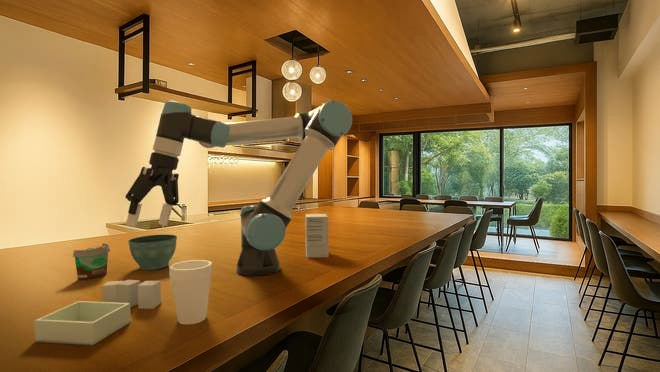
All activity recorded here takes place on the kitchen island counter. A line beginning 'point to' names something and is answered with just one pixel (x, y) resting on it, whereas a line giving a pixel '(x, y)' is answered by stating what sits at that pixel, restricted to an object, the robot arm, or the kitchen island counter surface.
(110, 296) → the stone
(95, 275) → the food container
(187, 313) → the foam cup
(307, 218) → the supplement box
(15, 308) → the kitchen island counter surface
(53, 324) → the bin
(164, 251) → the flower pot
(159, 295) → the stone
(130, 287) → the stone
